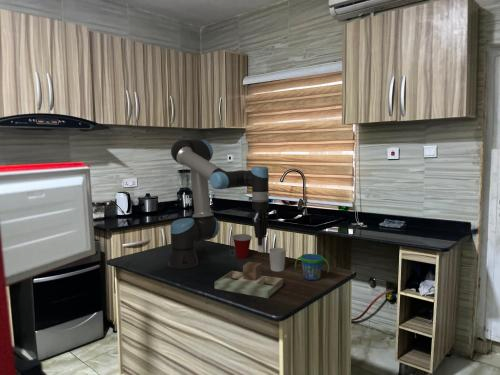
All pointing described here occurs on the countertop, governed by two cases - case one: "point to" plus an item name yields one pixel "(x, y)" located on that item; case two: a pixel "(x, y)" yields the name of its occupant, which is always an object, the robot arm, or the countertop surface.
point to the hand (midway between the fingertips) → (261, 251)
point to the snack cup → (311, 265)
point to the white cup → (277, 259)
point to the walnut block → (252, 271)
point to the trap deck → (248, 284)
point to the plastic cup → (242, 245)
